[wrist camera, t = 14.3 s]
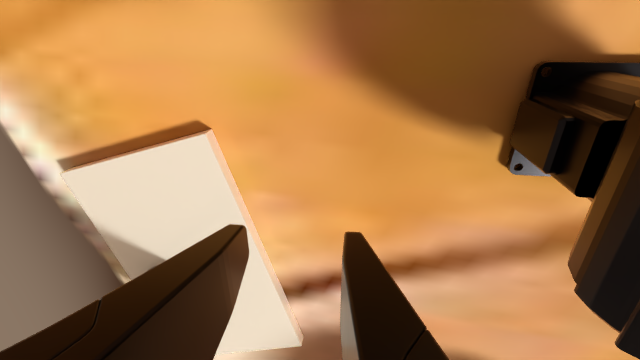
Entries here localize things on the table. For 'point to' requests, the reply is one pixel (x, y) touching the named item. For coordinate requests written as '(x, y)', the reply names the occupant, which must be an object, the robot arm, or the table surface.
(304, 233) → the table surface
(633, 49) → the table surface
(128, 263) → the tile
